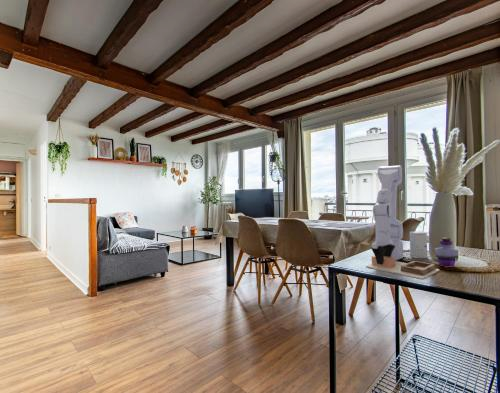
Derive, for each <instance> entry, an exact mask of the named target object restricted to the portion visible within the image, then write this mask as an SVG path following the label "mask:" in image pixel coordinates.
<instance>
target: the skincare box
mask: <svg viewBox="0 0 500 393" xmlns="http://www.w3.org/2000/svg"><path fill="white" fill-rule="evenodd" d="M409 256H410V257H411V258H413V257H414V259H427V258H428V233H427V232H426V231H421V230H420V231H409Z"/></svg>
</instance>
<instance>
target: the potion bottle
mask: <svg viewBox="0 0 500 393" xmlns="http://www.w3.org/2000/svg"><path fill="white" fill-rule="evenodd" d="M439 242H440V243H439V244H440V245H442V246H440V247H435V248H434V251H435V252H434V253H435V256H436V258H437V261H438V266H439V265H443V266H454V267H455V264H456V262H458V260H459V249H455V248H454V247H453V248H452V247H451V246H453V241H452V239H451V237H446V236H445V237H441V239H440V241H439Z"/></svg>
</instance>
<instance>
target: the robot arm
mask: <svg viewBox="0 0 500 393" xmlns="http://www.w3.org/2000/svg"><path fill="white" fill-rule="evenodd" d="M377 177H378V179H379V182H380V184H381V186H380V188H381V189H380V190H379V191H378V193H377V198H376V202H375V204H374V205H373V207H372V212H373V219H374V221H375V222H374V226H375V228H374V229H375V232H374V233H375V241H374V242H372V243H371V247H370V250H371V251H372V252H373V254H374V255H373V256H375V258H376V261H377V264H381V265H382V264H383V260H384V256H387V257H392V258H395V259H396V261H398V260H401V259H403V257H404V258H406V256H405V255H404V244H403V241H402V239H403V238H404V226H403V223H402V222H401V221H400V220H398V219H397V194H398V193H397V191H398V190H397V189H398V186H400V185H401V184H402V183H403V182H402V181H403V167H402V165H400V164H398V165H389V166H388V165H387V166H378V169H377Z"/></svg>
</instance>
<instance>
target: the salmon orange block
mask: <svg viewBox="0 0 500 393" xmlns="http://www.w3.org/2000/svg"><path fill="white" fill-rule="evenodd" d="M396 262H397V260H396V259H395V258H392V257H387V256H384V260H383V264H382V265H381V264H377V261H376V258H375V255H373V256H371V264H372V265H377V266H381V267H386V268H393V267H395V266H396Z"/></svg>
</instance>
